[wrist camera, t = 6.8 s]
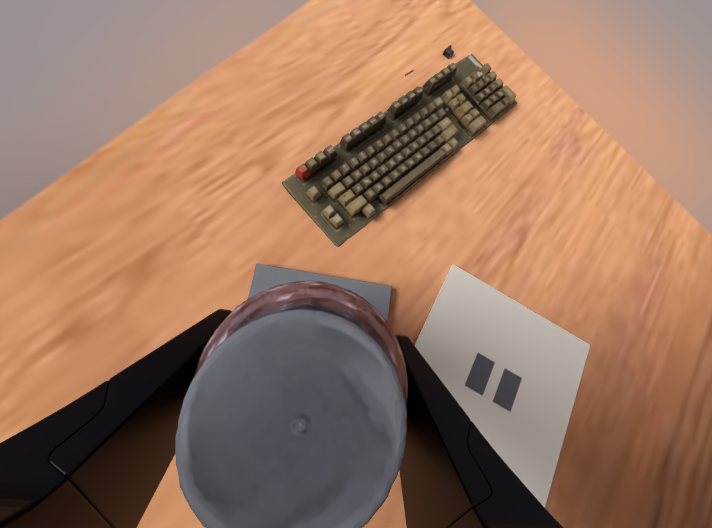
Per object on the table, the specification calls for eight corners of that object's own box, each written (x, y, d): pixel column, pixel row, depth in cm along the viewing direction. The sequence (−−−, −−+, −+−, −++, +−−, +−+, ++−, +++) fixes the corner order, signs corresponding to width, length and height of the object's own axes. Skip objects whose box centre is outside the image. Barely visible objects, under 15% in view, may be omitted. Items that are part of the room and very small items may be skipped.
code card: (539, 517, 16) (541, 519, 16) (377, 424, 16) (377, 426, 16) (588, 344, 19) (590, 344, 19) (451, 264, 19) (453, 264, 19)
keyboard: (339, 257, 19) (342, 250, 17) (262, 167, 19) (256, 150, 17) (517, 113, 24) (535, 95, 22) (452, 46, 25) (463, 22, 23)
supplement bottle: (306, 280, 16) (285, 194, 5) (381, 340, 16) (519, 379, 5) (237, 361, 15) (1, 481, 4) (319, 428, 14) (328, 756, 4)
